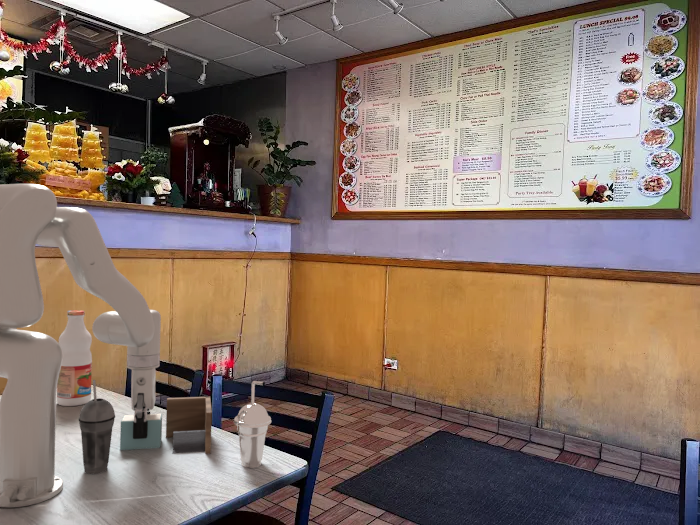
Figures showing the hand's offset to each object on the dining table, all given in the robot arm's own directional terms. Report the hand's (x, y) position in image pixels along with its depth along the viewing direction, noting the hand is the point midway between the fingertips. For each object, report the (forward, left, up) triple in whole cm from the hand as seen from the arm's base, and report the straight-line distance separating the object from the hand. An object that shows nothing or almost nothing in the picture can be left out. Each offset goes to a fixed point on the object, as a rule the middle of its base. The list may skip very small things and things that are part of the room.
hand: (141, 432), depth 134 cm
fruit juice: (+41, +23, -3) cm, 47 cm away
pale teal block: (0, 0, -3) cm, 3 cm away
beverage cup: (-14, +8, -3) cm, 16 cm away
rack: (-2, -11, -3) cm, 12 cm away
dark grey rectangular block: (-5, -11, -3) cm, 13 cm away
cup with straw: (-17, -25, -3) cm, 30 cm away
